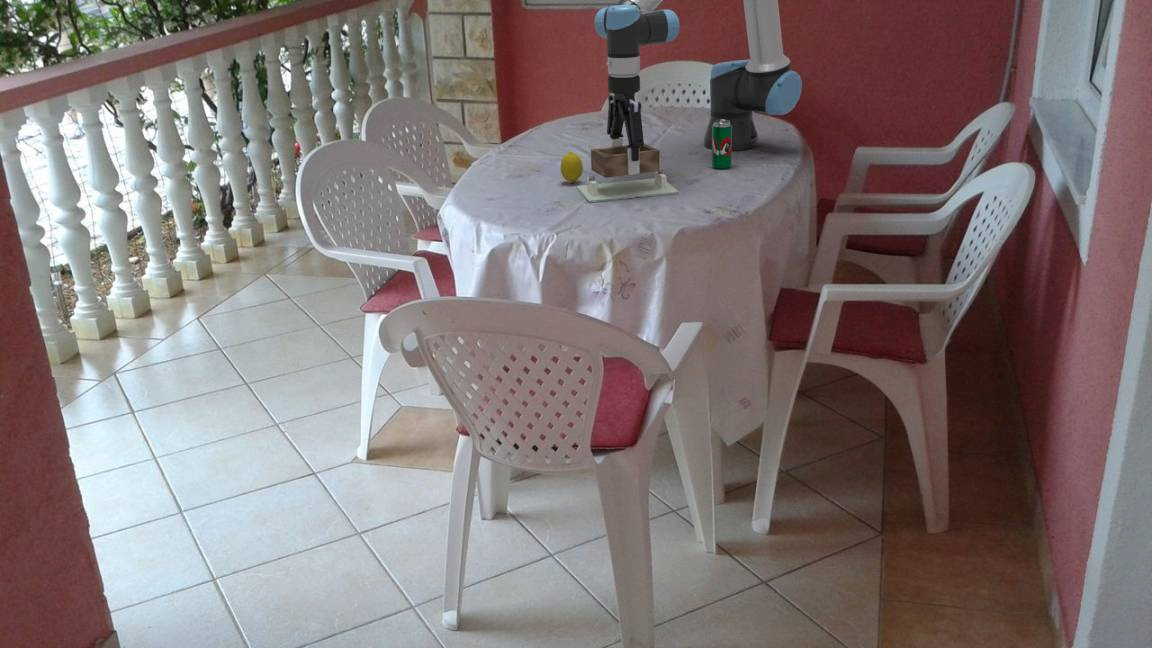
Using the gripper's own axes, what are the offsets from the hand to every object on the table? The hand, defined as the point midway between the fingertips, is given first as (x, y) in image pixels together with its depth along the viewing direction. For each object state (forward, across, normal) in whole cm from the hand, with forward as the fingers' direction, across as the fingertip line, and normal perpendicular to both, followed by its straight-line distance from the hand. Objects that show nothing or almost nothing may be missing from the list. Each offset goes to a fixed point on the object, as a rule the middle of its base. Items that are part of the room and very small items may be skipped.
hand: (625, 169), depth 249 cm
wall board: (+5, 0, 0) cm, 5 cm away
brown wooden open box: (0, 0, 0) cm, 0 cm away
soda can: (+5, -8, +31) cm, 32 cm away
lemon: (+6, -14, -9) cm, 17 cm away
